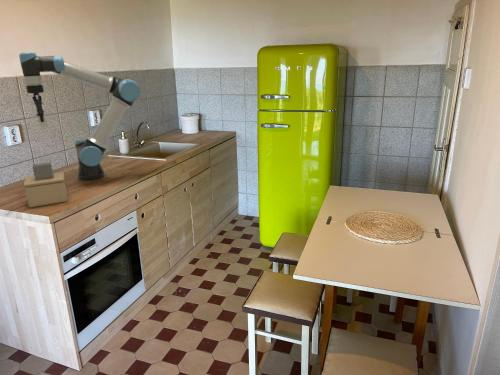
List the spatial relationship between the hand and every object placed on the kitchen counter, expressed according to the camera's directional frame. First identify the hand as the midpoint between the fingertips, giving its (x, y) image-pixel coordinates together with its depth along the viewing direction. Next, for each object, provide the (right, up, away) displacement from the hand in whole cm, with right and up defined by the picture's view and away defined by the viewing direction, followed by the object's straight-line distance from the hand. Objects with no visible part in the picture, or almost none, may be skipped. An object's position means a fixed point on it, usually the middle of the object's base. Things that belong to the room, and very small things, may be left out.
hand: (43, 126), depth 197 cm
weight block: (+6, -27, -10) cm, 30 cm away
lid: (+6, -28, -10) cm, 31 cm away
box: (+6, -38, -6) cm, 39 cm away
